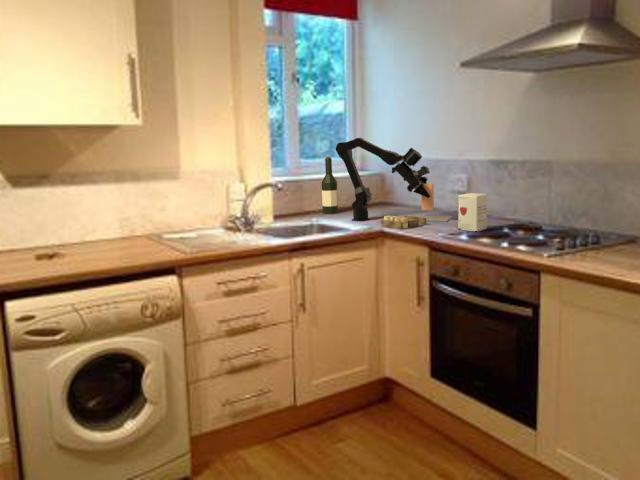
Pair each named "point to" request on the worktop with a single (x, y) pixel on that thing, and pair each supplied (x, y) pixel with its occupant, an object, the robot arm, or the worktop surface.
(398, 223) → the walnut rack
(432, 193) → the orange rectangular block
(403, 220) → the oak offcut
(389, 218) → the ash offcut
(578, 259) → the worktop surface
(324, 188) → the wine bottle
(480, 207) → the supplement box
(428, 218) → the slate tile
